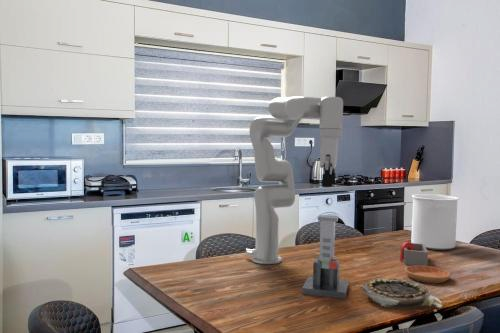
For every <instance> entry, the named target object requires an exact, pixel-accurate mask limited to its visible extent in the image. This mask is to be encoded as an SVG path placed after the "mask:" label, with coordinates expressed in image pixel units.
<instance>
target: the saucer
mask: <svg viewBox="0 0 500 333" xmlns="http://www.w3.org/2000/svg"><path fill="white" fill-rule="evenodd" d="M404 270H405V273H406V275H407V276H408V277H409V278H410V279H412V280H414V281H417V282H420V281H421V283H425V284H427V283H428V284H442V283H445V282H446V281H448V280H450V278H451V275H452V274H451V273H450V271H448V270H445V269H443V268H439V267H435V266H429V265H427V266H415V265H407V266H406V267H405V269H404Z"/></svg>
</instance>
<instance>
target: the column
mask: <svg viewBox="0 0 500 333" xmlns="http://www.w3.org/2000/svg"><path fill="white" fill-rule="evenodd" d="M338 220H339V215H325V214H324V215H323V214H319V215H318V216H317V221H320V223H319V226H320V227H319V233H320V234H319V253H318V254H319V256H318V257H319V262H321V268H326V269H329V261H334V259H335V246H336V245H335V243H336V222H337V223H338Z"/></svg>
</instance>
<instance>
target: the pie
mask: <svg viewBox="0 0 500 333" xmlns="http://www.w3.org/2000/svg"><path fill="white" fill-rule="evenodd" d="M425 286H426V285H424V284H422V283H420V282H418V281H417V282H416V281H415V280H414V281H413V280H405V279H402V278H395V277H394V278H384V277H383V278H382V277H381V278H372V279H370V280H368V281H367V282H363V283H362V285H361V286H359V289H362V291H363V292H364V293H365V294H366V295H368V296H369V300H370V299H371V300H372V301H371V300H370V301H371V302H374V301H375V302H378V303H377V304H379V306H380V305H381V306H380V307H383V306H384V308H392V309H404V310H405V309H416V308H420V309H424V308H425V306H429V307H431V306H432V305H434V306H435V307H436V308H442V307H443V303H442V301H441V300H440V299H439V298H438V297H436V296H434V295H432V294H431V290H429V289H428V288H427V287H425ZM375 302H374V303H375ZM423 306H424V308H423ZM436 308H435V309H434V308H433V312H437V309H436Z"/></svg>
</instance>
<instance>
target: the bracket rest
mask: <svg viewBox="0 0 500 333" xmlns="http://www.w3.org/2000/svg"><path fill="white" fill-rule="evenodd" d="M405 242H406V241H405ZM405 242H402V245H403V244H404V243H405ZM412 244H413V247H414V251H413V250H408V247H407V248H404V262H403V265H404V264H405V266H428V257H429V256H428V255H429V254H428V253H429V252H428V249H426V247H425V245H424V244H418V243H412Z"/></svg>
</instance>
